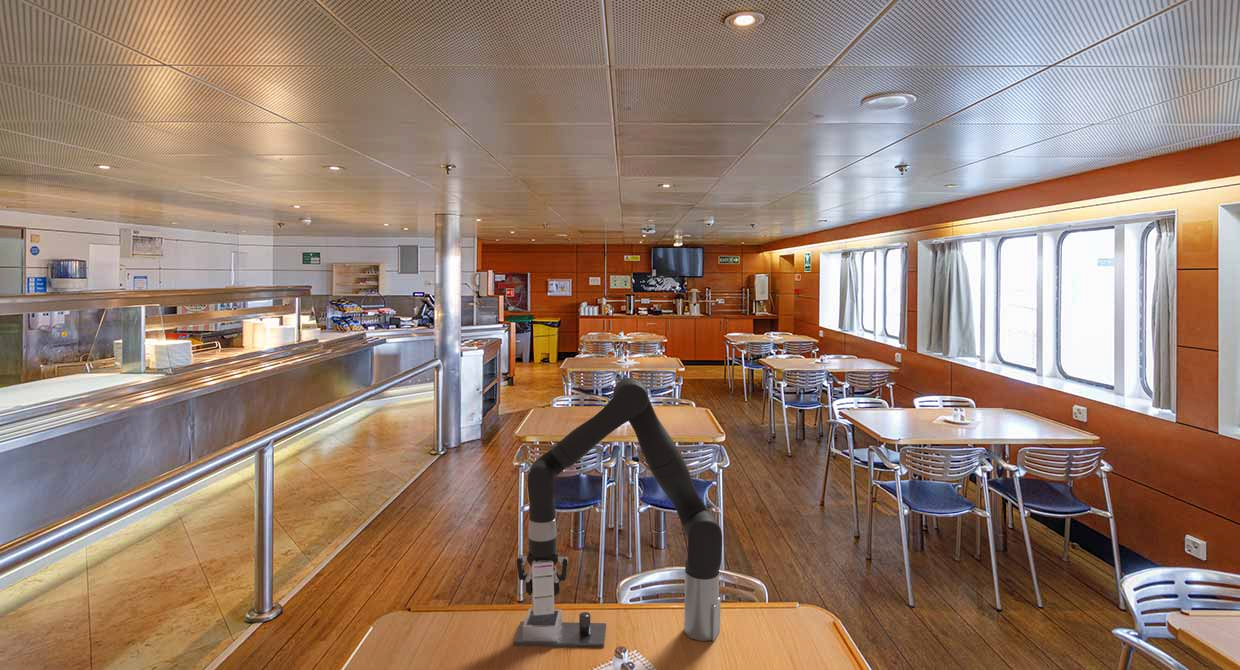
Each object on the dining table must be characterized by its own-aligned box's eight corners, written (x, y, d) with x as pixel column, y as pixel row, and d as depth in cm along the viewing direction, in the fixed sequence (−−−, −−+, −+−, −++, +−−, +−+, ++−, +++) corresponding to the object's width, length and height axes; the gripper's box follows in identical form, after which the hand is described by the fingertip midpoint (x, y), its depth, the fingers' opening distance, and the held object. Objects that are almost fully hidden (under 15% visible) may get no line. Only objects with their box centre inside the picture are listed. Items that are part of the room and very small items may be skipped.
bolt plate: (606, 626, 175) (606, 606, 175) (604, 647, 165) (604, 625, 165) (520, 624, 176) (520, 604, 176) (513, 645, 166) (513, 623, 166)
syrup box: (554, 614, 168) (554, 561, 167) (532, 616, 167) (532, 563, 166) (552, 603, 174) (552, 552, 173) (531, 605, 173) (531, 554, 171)
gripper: (570, 529, 172) (570, 587, 173) (518, 528, 172) (519, 586, 174) (567, 540, 165) (567, 601, 166) (513, 539, 165) (513, 600, 166)
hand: (542, 593), depth 170 cm, fingers closed on syrup box, 6 cm apart
